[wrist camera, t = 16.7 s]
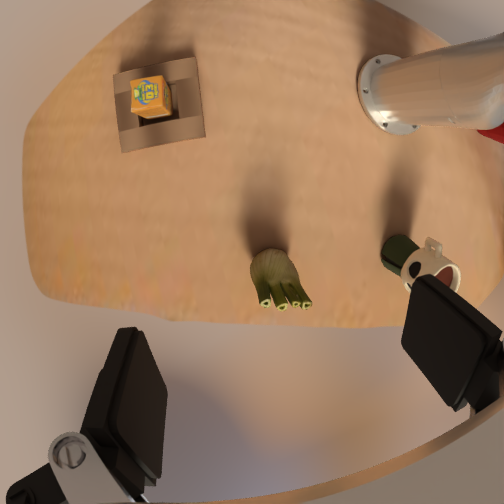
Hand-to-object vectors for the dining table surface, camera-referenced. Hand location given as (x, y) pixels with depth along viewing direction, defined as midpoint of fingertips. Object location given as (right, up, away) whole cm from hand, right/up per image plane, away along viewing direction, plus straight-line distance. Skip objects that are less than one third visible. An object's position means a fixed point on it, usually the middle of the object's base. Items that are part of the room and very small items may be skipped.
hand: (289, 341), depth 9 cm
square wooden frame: (-13, +21, +23) cm, 34 cm away
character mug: (+22, +3, +35) cm, 42 cm away
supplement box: (-12, +21, +22) cm, 33 cm away
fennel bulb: (+1, +2, +33) cm, 33 cm away
